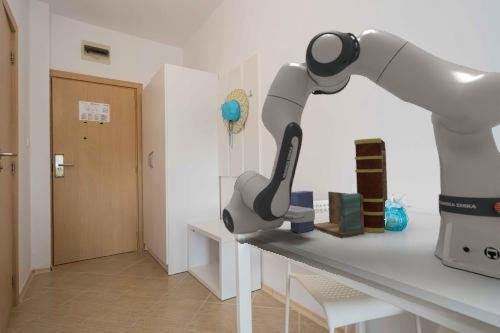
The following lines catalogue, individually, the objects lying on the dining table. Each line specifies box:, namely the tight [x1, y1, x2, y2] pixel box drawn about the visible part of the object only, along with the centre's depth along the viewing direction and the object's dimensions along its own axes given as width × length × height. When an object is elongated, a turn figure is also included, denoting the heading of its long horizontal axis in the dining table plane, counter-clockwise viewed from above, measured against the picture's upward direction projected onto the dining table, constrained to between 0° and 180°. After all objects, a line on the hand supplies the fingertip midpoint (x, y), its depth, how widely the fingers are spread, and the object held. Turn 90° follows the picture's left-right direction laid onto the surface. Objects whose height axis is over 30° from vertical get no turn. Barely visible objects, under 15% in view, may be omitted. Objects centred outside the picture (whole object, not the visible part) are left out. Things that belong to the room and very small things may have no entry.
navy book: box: [289, 190, 315, 234], centre depth 88 cm, size 4×7×13 cm, turn 123°
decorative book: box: [353, 137, 388, 234], centre depth 92 cm, size 22×8×30 cm, turn 148°
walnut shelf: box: [314, 191, 365, 239], centre depth 87 cm, size 15×9×13 cm, turn 23°
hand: (303, 209), depth 89 cm, fingers closed on navy book, 4 cm apart
